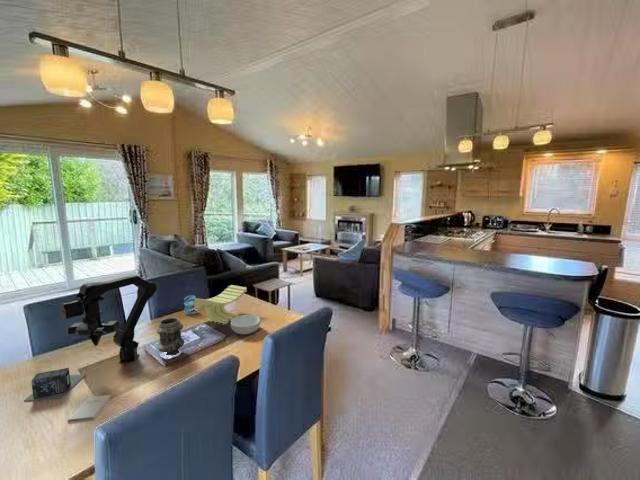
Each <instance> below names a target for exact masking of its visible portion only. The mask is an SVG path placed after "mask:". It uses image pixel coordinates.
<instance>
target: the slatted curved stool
mask: <svg viewBox="0 0 640 480" xmlns="http://www.w3.org/2000/svg"><path fill="white" fill-rule="evenodd" d="M246 292H248V289H247V286H240V285H234V284H231V285H228V286H227V287H226V288H224V290H223V291H221V293H220V294H217V295H216V296H214V297H211V298H206V299H205V298H199V297H196V299H195V300H194V299H193V301H194V308H193V309H196V310H197V311H201V310H202V309H204V308H205V310H206V316H207V319H208V321H209V322H212V321H214V322H213V323H216V322H219V323H218V324H220V323H223V324H222V325H224V324H225V325H227V324H229V323H230V322H229V321H231V320H232V319H233V318H235V317H238V316H239V315H238V314H235V313H232V312H229V311H227V310H226V309H225V306H227V305H229V304H233V302H236V301H239V298H242V296H243V295H245V293H246ZM228 322H229V323H228ZM226 323H227V324H226Z"/></svg>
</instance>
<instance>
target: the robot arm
mask: <svg viewBox="0 0 640 480" xmlns="http://www.w3.org/2000/svg"><path fill="white" fill-rule="evenodd" d="M131 285H134V286H135V287H136V288H137V290H136V295H137V296H136V298H135V299H136V300H135V301H134V303H133V306H132V308H131V309H130V312H129V314H128V317H127V319H126V321H125V323H124V325H123V326H122V327H121V328H120V326H121V324H120V323H121V322H120V321H119V320H110V321H108V322H107V323H104V319H102V314H103V311H102V310H101V305H100V302H101V301H104V300H105V299H106V298H105V297H103V295H104V294H105V293H108V292H109V291H113V290H117V289H120V288H123V287H127V286H131ZM157 289H158V286H157V284H156V283H155V282H151V281H148V280H147V279H143V278H142V277H140V276H139V275H136V274H130V275H127V276H124V277H123V276H122V277H119V278H115V279H112V280H108V281H103V282H87V283H83V284H82V285H81V286H80V288H79V292H78V293H77V294H76V296H75V298H74V299H73V301H69V302H64V303H61V306H60V310H59V313H60V317H61V318H62V320H63V321H67V320H69V319H74V318H77V317H81V316H82V315H84V316H82V321H81V322H75V323H73V324H72V325H70V326H69V327H68V328H67V329H66V331H67V334H68V335H75V334H77V335H78V336H87V337H88V338H89V339H90V341H91V342H92V344H93V345H94V346H99V344H100V343H99V342H100V340H101V338H102V334H103V333H104V332H105V333H113V332H115V334H114V335H112V338H113V339H112V341H113V343H114V345H116V346H118V347H120V348H119V353H118V354H119V361H118V362H119V363H134V362H135V360H136V359H137V358H138V357H140V353H139V354H138V347H139V345H140V342H138V341H135V340H134V339H135V328H136V326H137V324H138V322H139V320H140V318H141V315H142V313H143V312H144V309H145V306H146V305H147V302H148V301H149V300H150V299H151V298H152V297H153V296H154V295H155V293H156V292H157Z"/></svg>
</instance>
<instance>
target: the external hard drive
mask: <svg viewBox="0 0 640 480" xmlns="http://www.w3.org/2000/svg"><path fill="white" fill-rule="evenodd" d="M111 398H112V395H111V394H106V395H95V396H89V397H88V396H87V398H86V399H85V401H83V402H82V404H81V405H80V406H79V407H78V408H77V409H76V410H75V412H73V413H72V415H71V416H70V417H69V418H68V419H67V421H68V423H73V422H82V421H92V420H93V421H94V420H95V419H96V417H97V416H98V415H99V414H100V412H101V411H103V410H102V409H103V408H104V407H105V405H106V404H107V403H108V401H109V400H110V399H111Z"/></svg>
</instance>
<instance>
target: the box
mask: <svg viewBox="0 0 640 480" xmlns="http://www.w3.org/2000/svg"><path fill="white" fill-rule="evenodd" d="M70 375H71V374H70V367H65V368H61V369H60V368H59V369H55V370H50V371H44V372H38V373H36V374H35V376H34V377H33V378H32V380H30V382H31V390H32V393H33V398H34V399H37V398H42V397H46V396H51V395H55V394H60V393H64V392H67V391H68V389H69V387H70V385H71V382H70ZM67 393H68V392H67Z"/></svg>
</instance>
